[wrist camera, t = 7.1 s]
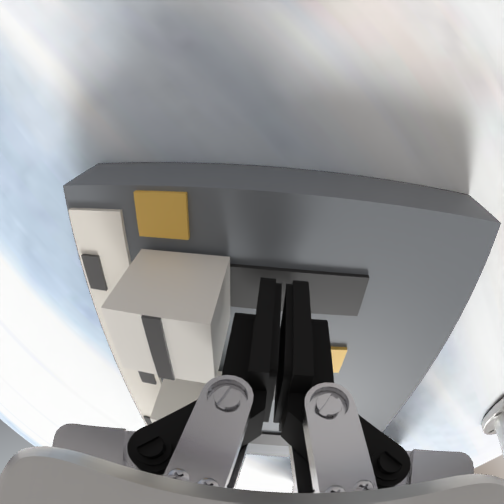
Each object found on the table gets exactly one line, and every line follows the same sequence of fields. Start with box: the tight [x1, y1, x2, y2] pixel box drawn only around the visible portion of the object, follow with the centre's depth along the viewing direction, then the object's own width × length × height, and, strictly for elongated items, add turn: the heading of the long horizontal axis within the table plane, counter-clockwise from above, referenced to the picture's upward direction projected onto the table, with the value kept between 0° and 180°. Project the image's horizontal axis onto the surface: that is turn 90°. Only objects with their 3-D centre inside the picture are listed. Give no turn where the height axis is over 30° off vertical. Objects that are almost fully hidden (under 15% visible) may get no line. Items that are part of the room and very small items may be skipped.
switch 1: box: [101, 249, 230, 383], centre depth 11 cm, size 4×3×4 cm
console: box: [63, 162, 501, 457], centre depth 17 cm, size 18×22×3 cm
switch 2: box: [150, 371, 222, 423], centre depth 14 cm, size 4×3×4 cm
